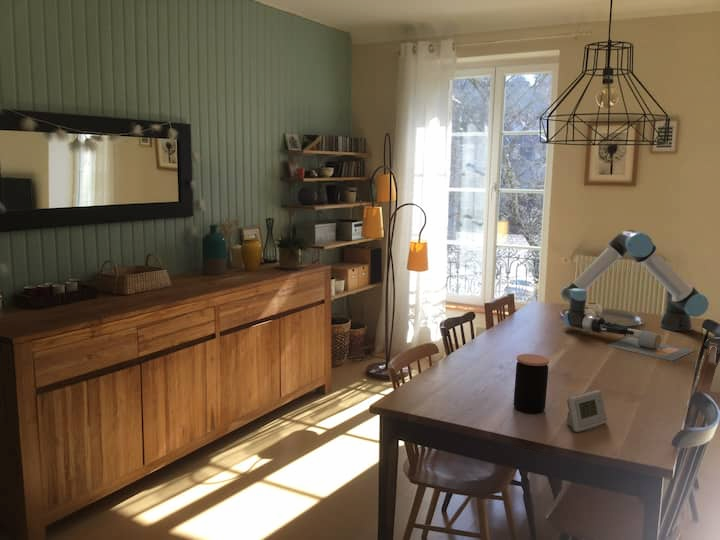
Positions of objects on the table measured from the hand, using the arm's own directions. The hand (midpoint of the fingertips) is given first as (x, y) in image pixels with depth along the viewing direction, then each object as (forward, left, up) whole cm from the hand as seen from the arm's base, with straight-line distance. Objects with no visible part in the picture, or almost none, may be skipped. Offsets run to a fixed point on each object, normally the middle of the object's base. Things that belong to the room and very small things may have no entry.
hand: (641, 334), depth 307 cm
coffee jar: (+110, +10, -6) cm, 110 cm away
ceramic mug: (-1, +4, -6) cm, 7 cm away
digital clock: (+108, +31, -6) cm, 112 cm away
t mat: (0, +4, -6) cm, 7 cm away
